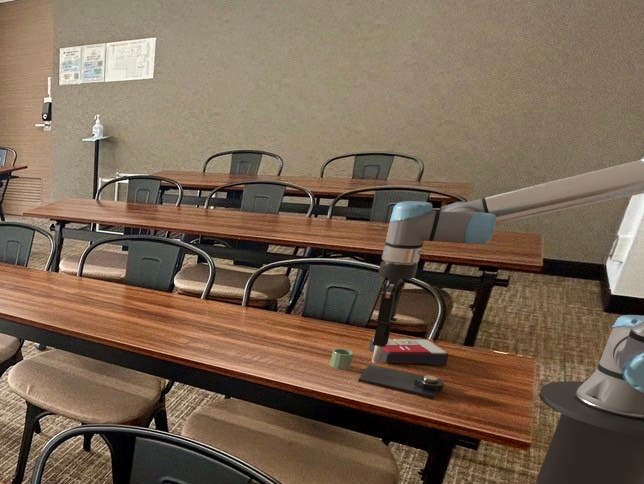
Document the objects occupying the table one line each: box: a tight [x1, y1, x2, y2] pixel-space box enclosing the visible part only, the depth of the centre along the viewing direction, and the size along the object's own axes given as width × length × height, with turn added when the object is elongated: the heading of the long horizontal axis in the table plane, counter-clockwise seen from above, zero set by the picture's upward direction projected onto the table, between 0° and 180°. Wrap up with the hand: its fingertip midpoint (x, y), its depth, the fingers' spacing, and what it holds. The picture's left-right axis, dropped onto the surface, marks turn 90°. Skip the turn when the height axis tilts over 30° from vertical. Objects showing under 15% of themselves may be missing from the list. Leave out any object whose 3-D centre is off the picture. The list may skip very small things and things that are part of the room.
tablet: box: [357, 364, 445, 400], centre depth 157 cm, size 17×12×2 cm
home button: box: [423, 374, 439, 384], centre depth 153 cm, size 3×3×1 cm
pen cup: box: [329, 348, 354, 371], centre depth 168 cm, size 5×5×5 cm
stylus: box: [371, 345, 383, 365], centre depth 158 cm, size 2×2×15 cm
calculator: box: [368, 338, 450, 366], centre depth 171 cm, size 11×4×15 cm
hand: (379, 344), depth 159 cm, fingers closed on stylus, 2 cm apart
